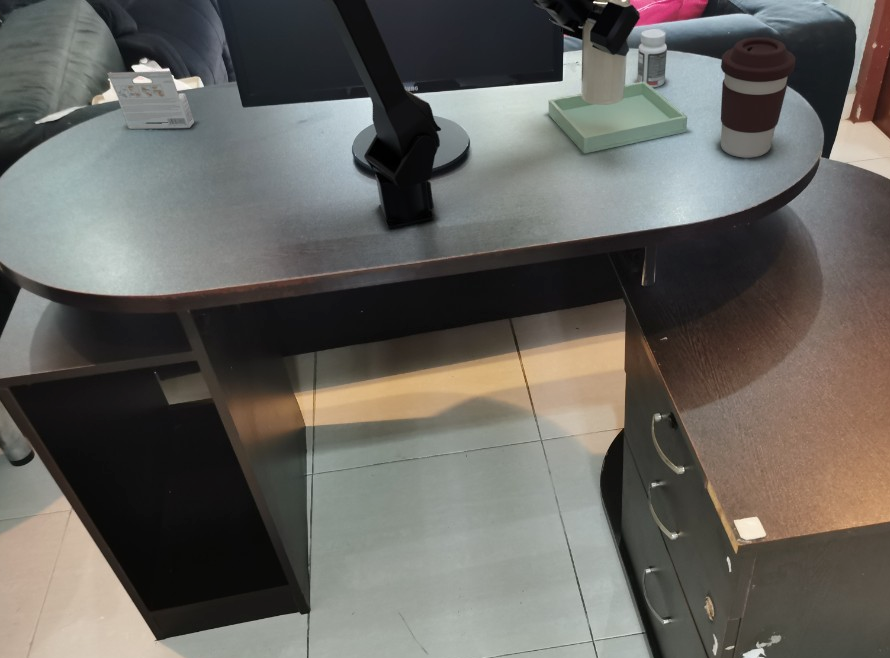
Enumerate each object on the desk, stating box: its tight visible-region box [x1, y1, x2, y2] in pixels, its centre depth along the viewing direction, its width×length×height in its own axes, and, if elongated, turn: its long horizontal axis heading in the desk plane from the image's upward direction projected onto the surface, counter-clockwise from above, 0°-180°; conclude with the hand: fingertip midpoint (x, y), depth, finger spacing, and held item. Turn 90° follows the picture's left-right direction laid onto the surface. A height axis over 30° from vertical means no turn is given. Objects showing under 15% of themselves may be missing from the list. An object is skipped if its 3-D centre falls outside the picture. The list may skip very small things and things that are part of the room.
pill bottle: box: [636, 28, 668, 89], centre depth 141 cm, size 5×5×8 cm
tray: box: [548, 81, 688, 154], centre depth 132 cm, size 17×15×2 cm
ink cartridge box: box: [106, 70, 195, 130], centre depth 138 cm, size 2×11×10 cm, turn 85°
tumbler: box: [580, 0, 631, 105], centre depth 120 cm, size 6×6×14 cm
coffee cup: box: [720, 36, 796, 159], centre depth 119 cm, size 10×10×15 cm
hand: (611, 46), depth 121 cm, fingers closed on tumbler, 6 cm apart
